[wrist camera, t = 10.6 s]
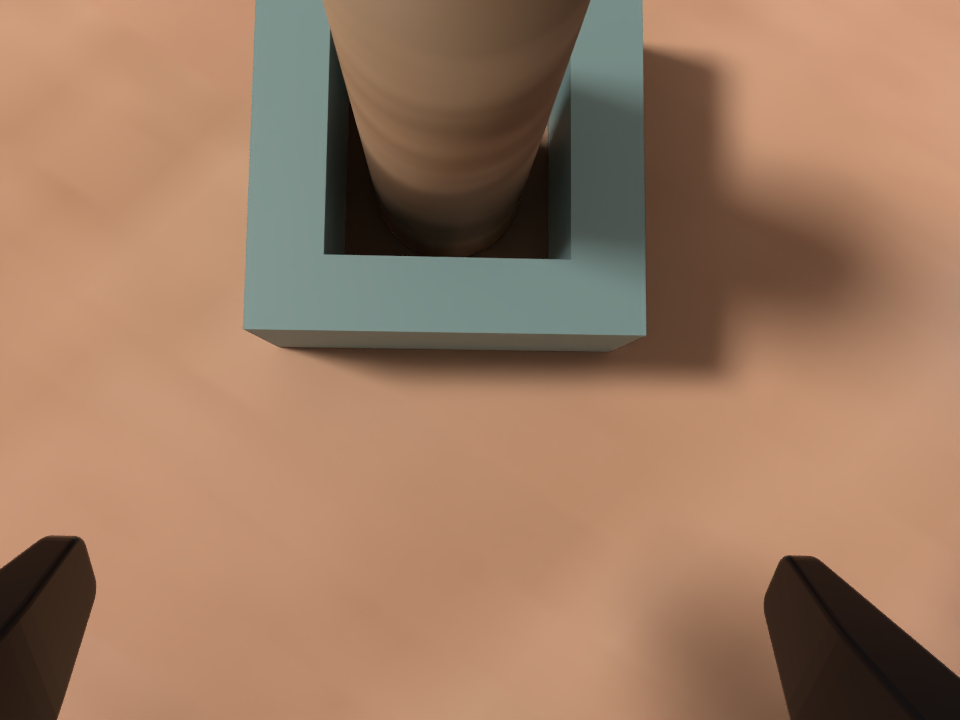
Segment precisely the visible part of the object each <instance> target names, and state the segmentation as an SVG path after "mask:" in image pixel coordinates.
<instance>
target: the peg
mask: <svg viewBox="0 0 960 720" xmlns="http://www.w3.org/2000/svg"><path fill="white" fill-rule="evenodd" d="M590 1H591V0H323V4H324V8H325V11H326V15H327V19H328V22H329V26H330V29H331V33H332V37H333V40H334V44H335V48H336V51H337V55H338V59H339V62H340V66H341V69H342V73H343V77H344V80H345V84H346V88H347V91H348V95H349V99H350V102H351V106H352V109H353V113H354V117H355V120H356V124H357V128H358V131H359V135H360V139H361V142H362V146H363V149H364V153H365V157H366V160H367V164H368V168H369V171H370V175H371V179H372V182H373V186H374V189H375V193H376V197H377V200H378V204H379V208H380V211H381V213H382V216H383V218H384V220H385V222H386V224H387V225H388V227H389V228H390V230H391V231H392V232H393V233H394V235H395V236H396V237H397V238H398V239H399V240H400V241H401V242H403V243H404V244H406V245H407V246H408V247H410V248H411V249H413V250H415V251H417V252H419V253H422V254H424V255H427V256H431V257H467V256H471V255H474V254H476V253H479V252H481V251H483V250H484V249H486V248H488V247H489V246H491V245H492V244H493V243H495V242H496V241H497V240H498V239H499V238H500V237H501V236H502V235H503V234H504V233H505V231H506V230H507V229H508V227H509V225H510V224H511V222H512V220H513V218H514V215H515V213H516V210H517V207H518V205H519V202H520V199H521V196H522V193H523V190H524V188H525V185H526V182H527V179H528V176H529V173H530V171H531V168H532V165H533V162H534V159H535V156H536V154H537V151H538V148H539V145H540V142H541V139H542V137H543V134H544V131H545V128H546V125H547V123H548V120H549V117H550V114H551V111H552V108H553V106H554V103H555V100H556V97H557V94H558V91H559V89H560V86H561V83H562V80H563V77H564V74H565V72H566V69H567V66H568V63H569V60H570V57H571V55H572V52H573V49H574V46H575V43H576V40H577V38H578V35H579V32H580V29H581V26H582V23H583V21H584V18H585V15H586V12H587V9H588V6H589V4H590Z"/></svg>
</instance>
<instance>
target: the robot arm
mask: <svg viewBox="0 0 960 720" xmlns="http://www.w3.org/2000/svg"><path fill="white" fill-rule="evenodd" d="M95 594H96V580H95V576H94V572H93V569H92V565H91V562H90V558H89V555H88V551H87V548H86V545H85V543H84V541H83V540H82V539H81V538H80V537H77V536H54V535H53V536H46V537H44V538H42V539H40V540H39V541H37V542H36V543H34V544H33V545H32V546H30V547H29V548H28V549H26V550H25V551H24V552H22V553H21V554H20V555H18V556H17V557H16V558H14V559H13V560H12V561H10V562H9V563H8V564H6V565H5V566H4V567H2V568H1V569H0V720H57V718H58V715H59V712H60V709H61V706H62V703H63V700H64V697H65V694H66V691H67V687H68V684H69V681H70V678H71V674H72V671H73V668H74V665H75V661H76V658H77V655H78V652H79V648H80V645H81V642H82V639H83V635H84V632H85V629H86V626H87V622H88V619H89V616H90V613H91V609H92V606H93V603H94V599H95ZM764 613H765V618H766V622H767V626H768V630H769V634H770V639H771V643H772V647H773V651H774V655H775V659H776V663H777V667H778V672H779V676H780V680H781V684H782V688H783V692H784V696H785V701H786V705H787V709H788V712H789V716H790V720H960V677H958V676H957V675H956V674H955V673H954V672H952V671H951V670H950V669H949V668H948V667H946V666H945V665H944V664H943V663H942V662H941V661H939V660H938V659H937V658H936V657H935V656H933V655H932V654H931V653H930V652H929V651H927V650H926V649H925V648H924V647H923V646H922V645H920V644H919V643H918V642H917V641H916V640H914V639H913V638H912V637H911V636H910V635H908V634H907V633H906V632H905V631H904V630H902V629H901V628H900V627H899V626H898V625H897V624H895V623H894V622H893V621H892V620H891V619H889V618H888V617H887V616H886V615H885V614H883V613H882V612H881V611H880V610H879V609H877V608H876V607H875V606H874V605H873V604H872V603H870V602H869V601H868V600H867V599H866V598H864V597H863V596H862V595H861V594H860V593H858V592H857V591H856V590H855V589H854V588H852V587H851V586H850V585H849V584H848V583H847V582H845V581H844V580H843V579H842V578H841V577H839V576H838V575H837V574H836V573H835V572H833V571H832V570H831V569H830V568H829V567H827V566H826V565H825V564H824V563H823V562H821V561H820V560H819V559H817V558H815V557H812V556H791V555H788V556H785V557H783V558H782V559H781V560H780V562H779V564H778V566H777V568H776V571H775V573H774V575H773V578H772V580H771V582H770V585H769V587H768V589H767V592H766V594H765V598H764Z"/></svg>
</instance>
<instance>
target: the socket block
mask: <svg viewBox="0 0 960 720" xmlns="http://www.w3.org/2000/svg"><path fill="white" fill-rule="evenodd" d="M348 119H349V95H348V91H347V88H346V84H345V80H344V77H343V73H342V69H341V66H340V62H339V59H338V55H337V51H336V48H335V44H334V40H333V37H332V33H331V29H330V26H329V22H328V19H327V15H326V11H325V8H324V4H323V0H256V5H255V31H254V57H253V83H252V109H251V135H250V161H249V187H248V213H247V239H246V265H245V291H244V317H243V329H244V330H246V331H248V332H250V333H252V334H254V335H256V336H258V337H260V338H262V339H264V340H266V341H268V342H270V343H272V344H274V345H276V346H278V347H321V348H390V349H459V350H527V351H596V352H610V351H613V350H615V349H617V348H619V347H622V346H624V345H626V344H628V343H631V342H633V341H635V340H637V339H640V338H642V337H644V336H646V266H645V181H644V95H643V10H642V0H591V1H590V4H589V6H588V9H587V12H586V15H585V18H584V21H583V23H582V26H581V29H580V32H579V35H578V38H577V40H576V43H575V46H574V49H573V52H572V55H571V57H570V60H569V63H568V66H567V69H566V72H565V74H564V77H563V80H562V83H561V86H560V89H559V91H558V94H557V97H556V100H555V103H554V106H553V108H552V111H551V114H550V117H549V120H548V259H515V258H468V257H421V256H373V255H345V234H346V196H347V157H348Z"/></svg>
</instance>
